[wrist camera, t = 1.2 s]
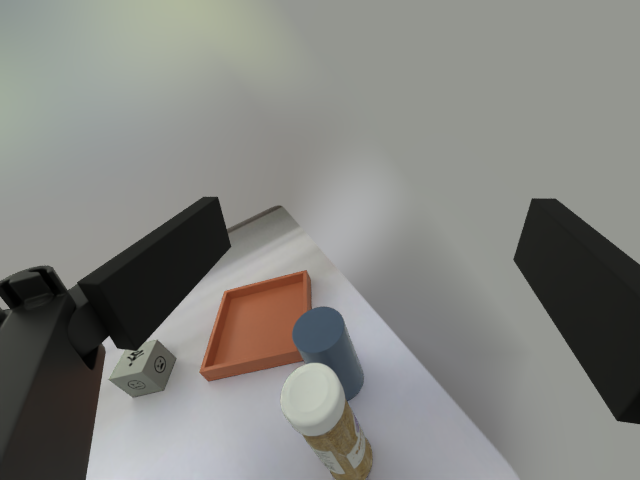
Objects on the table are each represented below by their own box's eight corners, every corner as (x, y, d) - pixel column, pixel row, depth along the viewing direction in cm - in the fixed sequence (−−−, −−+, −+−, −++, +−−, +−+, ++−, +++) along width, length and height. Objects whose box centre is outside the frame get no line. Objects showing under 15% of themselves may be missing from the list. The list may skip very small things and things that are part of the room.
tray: (310, 279, 50) (306, 269, 49) (313, 358, 38) (307, 348, 37) (230, 299, 52) (224, 290, 51) (208, 381, 40) (199, 372, 39)
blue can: (359, 353, 37) (340, 301, 31) (367, 397, 32) (347, 345, 27) (318, 362, 37) (292, 313, 32) (320, 406, 33) (290, 358, 27)
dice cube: (176, 358, 45) (157, 339, 42) (163, 390, 41) (141, 371, 38) (147, 365, 45) (126, 346, 43) (132, 397, 41) (108, 379, 39)
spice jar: (382, 466, 27) (351, 398, 19) (341, 499, 26) (291, 440, 18) (356, 421, 31) (321, 349, 23) (319, 448, 30) (270, 382, 22)
